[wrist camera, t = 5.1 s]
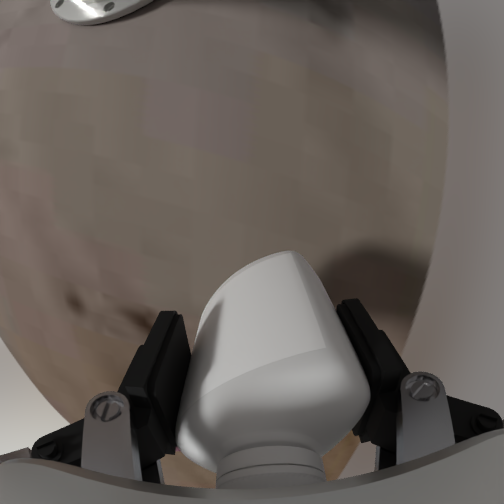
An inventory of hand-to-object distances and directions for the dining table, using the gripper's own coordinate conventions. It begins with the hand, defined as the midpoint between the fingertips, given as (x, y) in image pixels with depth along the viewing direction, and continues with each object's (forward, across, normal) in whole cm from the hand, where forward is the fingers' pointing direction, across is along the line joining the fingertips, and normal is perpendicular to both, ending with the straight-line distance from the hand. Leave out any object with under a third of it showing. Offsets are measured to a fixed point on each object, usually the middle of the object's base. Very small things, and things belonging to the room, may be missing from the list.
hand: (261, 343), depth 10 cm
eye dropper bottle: (+4, 0, 0) cm, 4 cm away
